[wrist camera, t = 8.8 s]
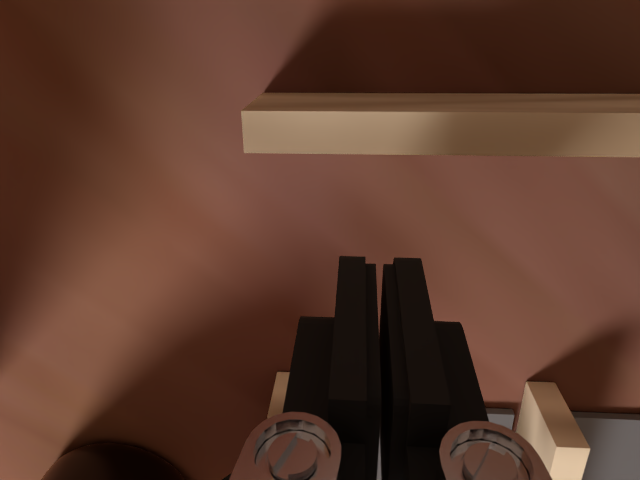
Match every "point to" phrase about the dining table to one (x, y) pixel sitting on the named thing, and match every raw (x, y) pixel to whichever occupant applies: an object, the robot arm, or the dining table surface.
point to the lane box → (458, 139)
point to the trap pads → (594, 443)
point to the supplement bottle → (111, 464)
